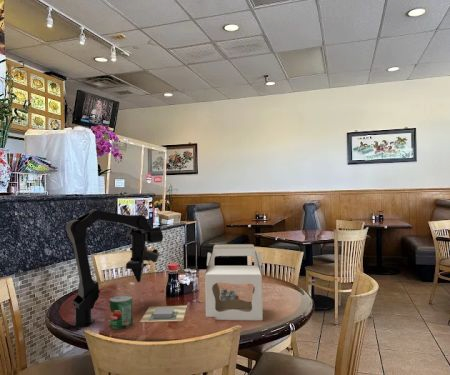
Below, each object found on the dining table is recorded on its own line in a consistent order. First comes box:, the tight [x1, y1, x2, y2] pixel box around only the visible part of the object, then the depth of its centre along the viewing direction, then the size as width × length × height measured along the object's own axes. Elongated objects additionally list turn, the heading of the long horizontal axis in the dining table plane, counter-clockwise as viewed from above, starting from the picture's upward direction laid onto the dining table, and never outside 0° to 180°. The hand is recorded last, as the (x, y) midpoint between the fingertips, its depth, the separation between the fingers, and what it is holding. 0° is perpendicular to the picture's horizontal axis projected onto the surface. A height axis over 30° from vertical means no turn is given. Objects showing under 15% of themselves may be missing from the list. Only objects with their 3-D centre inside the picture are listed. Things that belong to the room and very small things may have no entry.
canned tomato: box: [109, 294, 133, 334], centre depth 127 cm, size 8×8×11 cm
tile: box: [153, 306, 174, 318], centre depth 137 cm, size 2×7×8 cm
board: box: [139, 305, 188, 323], centre depth 140 cm, size 18×16×1 cm
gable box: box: [204, 243, 264, 321], centre depth 141 cm, size 22×13×28 cm, turn 84°
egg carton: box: [219, 287, 238, 301], centre depth 162 cm, size 11×8×4 cm
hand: (139, 281), depth 148 cm, fingers closed
